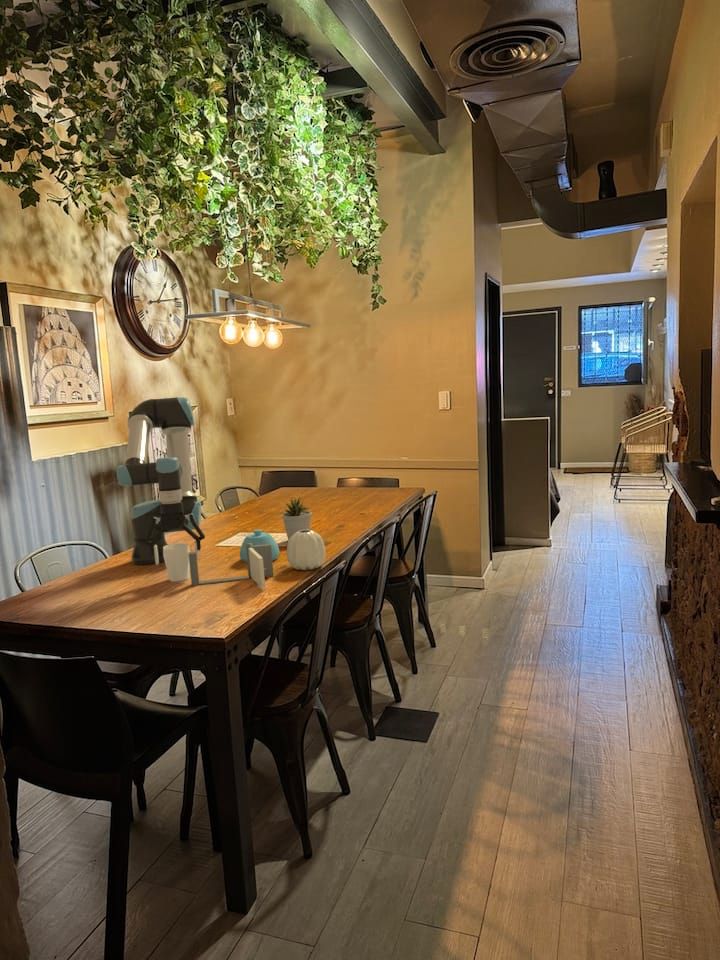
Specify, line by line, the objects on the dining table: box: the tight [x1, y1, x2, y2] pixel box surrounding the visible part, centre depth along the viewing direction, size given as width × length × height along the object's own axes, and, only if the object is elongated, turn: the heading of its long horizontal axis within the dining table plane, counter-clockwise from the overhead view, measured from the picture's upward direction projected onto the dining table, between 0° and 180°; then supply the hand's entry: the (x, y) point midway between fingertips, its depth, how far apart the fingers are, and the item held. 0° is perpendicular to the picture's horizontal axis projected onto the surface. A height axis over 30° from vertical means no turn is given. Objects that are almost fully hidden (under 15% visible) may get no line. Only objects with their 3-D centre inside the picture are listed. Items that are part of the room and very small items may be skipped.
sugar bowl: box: [239, 529, 280, 564], centre depth 246 cm, size 15×15×12 cm
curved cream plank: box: [248, 548, 266, 590], centre depth 213 cm, size 16×2×10 cm, turn 22°
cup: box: [163, 542, 191, 583], centre depth 226 cm, size 9×9×12 cm
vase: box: [286, 529, 327, 571], centre depth 230 cm, size 14×14×13 cm
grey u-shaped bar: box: [189, 543, 275, 586], centre depth 221 cm, size 3×28×12 cm, turn 101°
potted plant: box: [279, 495, 312, 541], centre depth 273 cm, size 13×14×20 cm
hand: (177, 561), depth 225 cm, fingers open, 13 cm apart
